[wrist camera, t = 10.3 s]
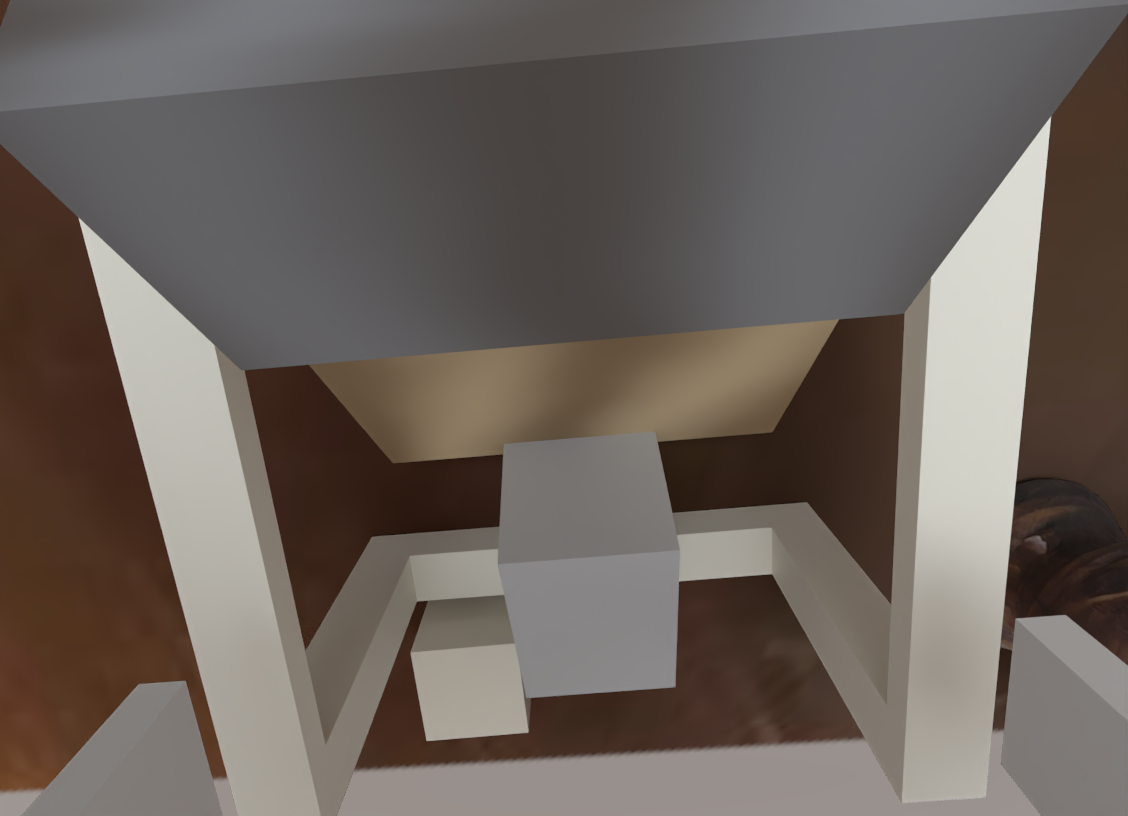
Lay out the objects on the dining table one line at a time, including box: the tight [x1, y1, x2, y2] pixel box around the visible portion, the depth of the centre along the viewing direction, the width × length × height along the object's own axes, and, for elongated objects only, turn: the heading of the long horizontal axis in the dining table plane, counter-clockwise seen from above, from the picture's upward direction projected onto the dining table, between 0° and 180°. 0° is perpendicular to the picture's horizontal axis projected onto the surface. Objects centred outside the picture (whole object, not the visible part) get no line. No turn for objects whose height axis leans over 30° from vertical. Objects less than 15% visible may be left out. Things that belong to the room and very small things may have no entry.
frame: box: [79, 117, 1051, 816], centre depth 21 cm, size 18×16×13 cm
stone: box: [498, 432, 680, 698], centre depth 23 cm, size 5×5×7 cm
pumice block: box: [410, 595, 531, 741], centre depth 29 cm, size 4×4×4 cm
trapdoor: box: [0, 0, 1128, 463], centre depth 15 cm, size 13×18×4 cm
